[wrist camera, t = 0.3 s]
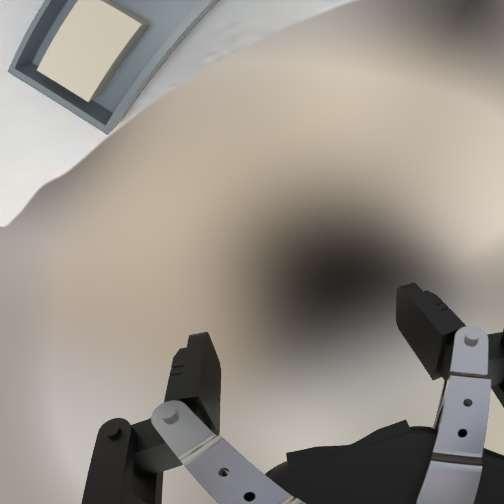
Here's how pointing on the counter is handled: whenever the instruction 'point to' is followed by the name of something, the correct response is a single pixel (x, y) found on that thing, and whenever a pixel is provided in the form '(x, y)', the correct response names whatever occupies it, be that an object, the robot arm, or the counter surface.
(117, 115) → the tray
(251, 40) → the counter surface
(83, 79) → the beige rectangular block
